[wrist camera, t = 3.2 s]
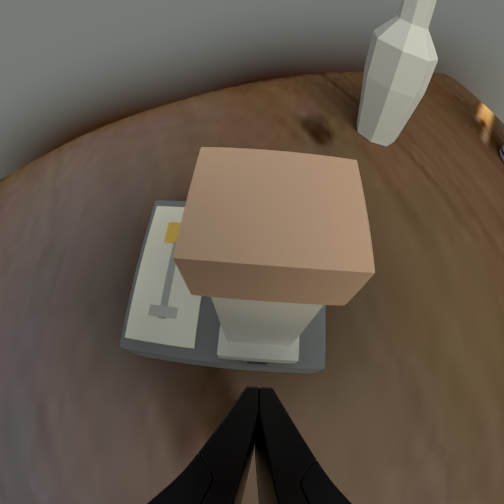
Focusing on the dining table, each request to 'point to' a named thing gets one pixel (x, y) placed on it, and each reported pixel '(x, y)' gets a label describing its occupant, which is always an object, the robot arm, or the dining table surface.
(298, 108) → the dining table surface
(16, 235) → the dining table surface
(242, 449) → the robot arm
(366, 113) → the faceted bottle
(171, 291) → the switch unit
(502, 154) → the energy drink
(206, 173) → the slider knob
